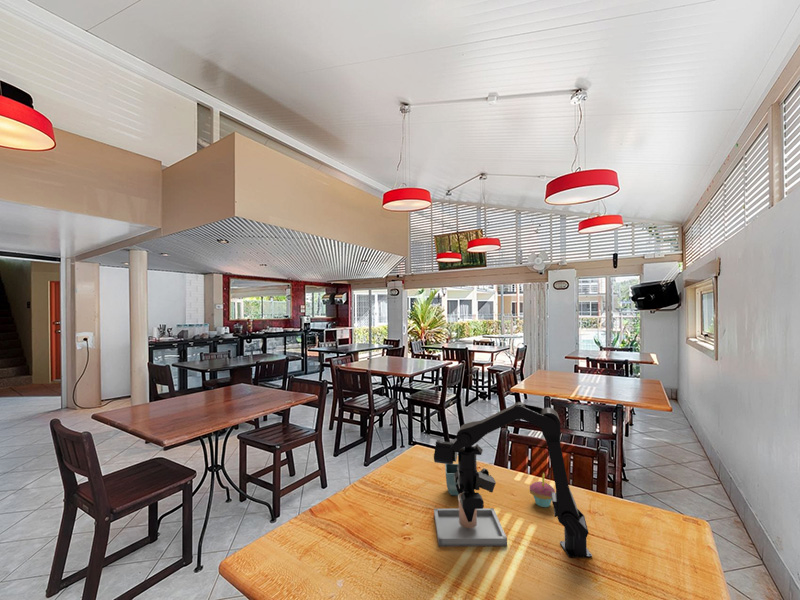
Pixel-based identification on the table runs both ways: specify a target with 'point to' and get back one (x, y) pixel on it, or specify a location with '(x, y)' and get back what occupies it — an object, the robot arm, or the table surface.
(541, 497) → the cupcake
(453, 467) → the flower pot
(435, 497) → the table surface
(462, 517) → the cup
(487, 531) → the tray
